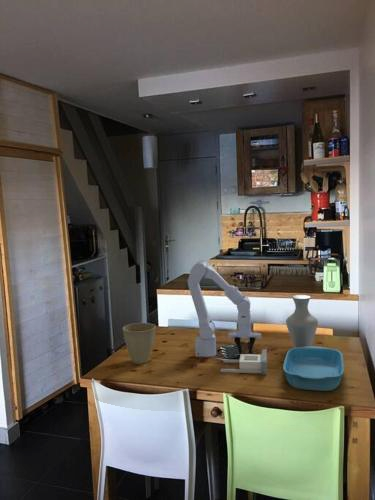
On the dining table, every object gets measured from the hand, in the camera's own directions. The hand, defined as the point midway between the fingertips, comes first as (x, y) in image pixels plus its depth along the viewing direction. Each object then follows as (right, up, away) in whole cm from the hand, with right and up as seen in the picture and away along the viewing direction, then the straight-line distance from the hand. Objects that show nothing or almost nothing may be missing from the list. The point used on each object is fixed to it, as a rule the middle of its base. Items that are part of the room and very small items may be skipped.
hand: (245, 353), depth 198 cm
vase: (+28, 0, +8) cm, 29 cm away
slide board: (-3, -3, -14) cm, 15 cm away
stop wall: (+6, -2, -16) cm, 17 cm away
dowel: (0, -2, 0) cm, 2 cm away
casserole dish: (+24, -4, -25) cm, 35 cm away
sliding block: (0, -2, -15) cm, 15 cm away
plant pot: (-48, -4, +1) cm, 48 cm away
